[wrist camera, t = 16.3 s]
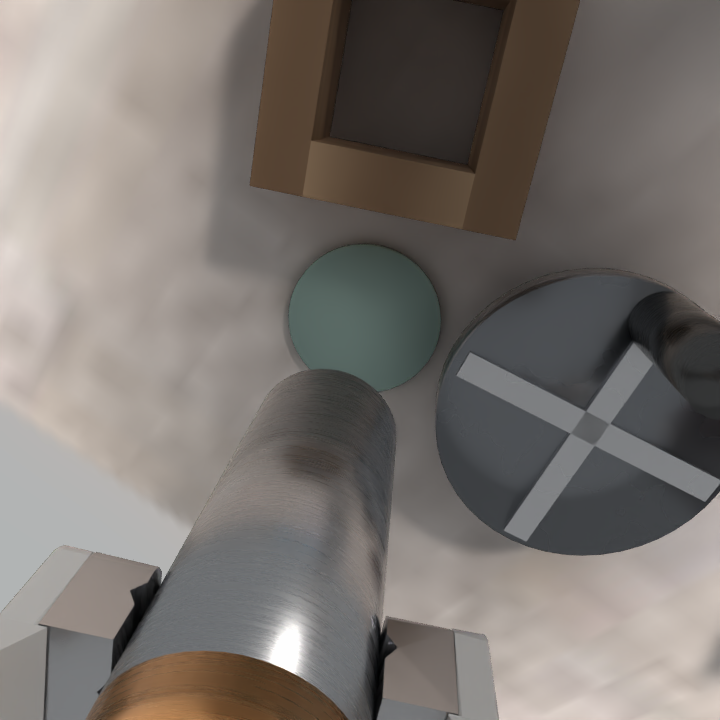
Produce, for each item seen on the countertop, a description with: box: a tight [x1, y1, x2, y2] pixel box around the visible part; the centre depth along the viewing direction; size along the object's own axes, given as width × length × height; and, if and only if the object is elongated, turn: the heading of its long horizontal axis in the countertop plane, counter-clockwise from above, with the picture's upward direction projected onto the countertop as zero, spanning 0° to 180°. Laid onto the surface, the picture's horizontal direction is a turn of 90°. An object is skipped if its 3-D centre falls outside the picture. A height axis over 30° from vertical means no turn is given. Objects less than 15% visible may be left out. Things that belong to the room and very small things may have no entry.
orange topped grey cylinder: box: [85, 369, 396, 720], centre depth 11 cm, size 3×3×11 cm
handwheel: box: [435, 268, 720, 555], centre depth 21 cm, size 10×10×6 cm
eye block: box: [250, 0, 580, 240], centre depth 21 cm, size 8×8×4 cm
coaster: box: [288, 244, 441, 392], centre depth 25 cm, size 6×6×1 cm
